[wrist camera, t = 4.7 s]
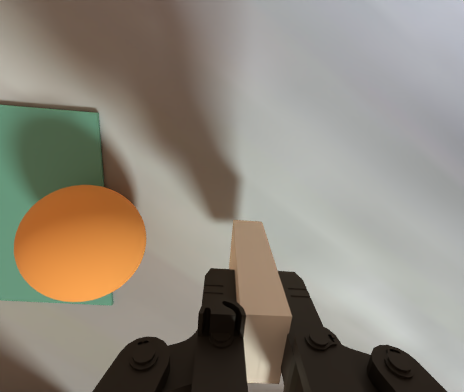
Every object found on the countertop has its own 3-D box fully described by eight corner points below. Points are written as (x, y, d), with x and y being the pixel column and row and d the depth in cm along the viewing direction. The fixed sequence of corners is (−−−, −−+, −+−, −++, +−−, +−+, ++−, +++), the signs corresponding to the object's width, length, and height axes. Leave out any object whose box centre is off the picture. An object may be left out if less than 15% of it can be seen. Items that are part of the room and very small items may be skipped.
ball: (-17, 183, 11) (106, 166, 16) (6, 289, 13) (111, 248, 17) (35, 226, 8) (169, 191, 13) (56, 354, 10) (167, 286, 15)
